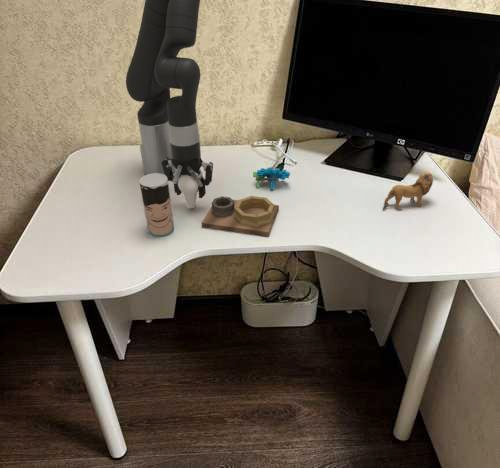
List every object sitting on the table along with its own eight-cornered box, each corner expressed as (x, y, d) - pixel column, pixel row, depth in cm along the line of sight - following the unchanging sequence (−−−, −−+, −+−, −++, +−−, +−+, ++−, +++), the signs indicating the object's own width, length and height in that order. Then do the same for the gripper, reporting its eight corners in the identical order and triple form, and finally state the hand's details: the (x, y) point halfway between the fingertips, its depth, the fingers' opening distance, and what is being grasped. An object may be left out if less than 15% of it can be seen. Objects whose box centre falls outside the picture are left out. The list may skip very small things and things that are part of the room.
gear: (293, 175, 140) (286, 165, 131) (291, 194, 139) (284, 185, 130) (258, 176, 143) (249, 165, 134) (256, 194, 142) (247, 185, 133)
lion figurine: (420, 195, 133) (426, 167, 128) (432, 204, 129) (439, 176, 124) (377, 206, 129) (382, 177, 123) (388, 215, 125) (394, 187, 119)
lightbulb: (206, 204, 131) (203, 169, 124) (197, 215, 126) (193, 180, 120) (186, 200, 132) (182, 166, 126) (177, 211, 128) (172, 176, 121)
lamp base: (201, 227, 121) (200, 213, 119) (217, 202, 131) (216, 188, 129) (268, 236, 117) (268, 222, 115) (278, 210, 128) (279, 196, 125)
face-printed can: (143, 235, 119) (134, 184, 110) (155, 221, 124) (147, 171, 115) (167, 239, 117) (159, 188, 108) (178, 225, 122) (172, 175, 114)
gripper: (152, 142, 116) (161, 199, 125) (206, 147, 113) (211, 205, 122) (164, 130, 121) (171, 185, 131) (216, 135, 118) (219, 191, 128)
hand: (190, 195), depth 127 cm, fingers closed on lightbulb, 6 cm apart
